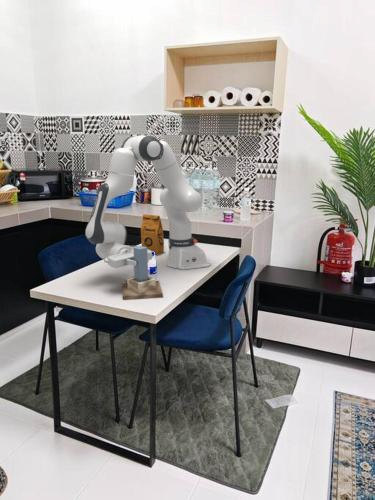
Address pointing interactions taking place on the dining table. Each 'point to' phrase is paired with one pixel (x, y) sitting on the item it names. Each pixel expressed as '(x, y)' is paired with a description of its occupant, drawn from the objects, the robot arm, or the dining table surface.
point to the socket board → (141, 295)
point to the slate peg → (141, 264)
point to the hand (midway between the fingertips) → (142, 262)
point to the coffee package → (152, 233)
